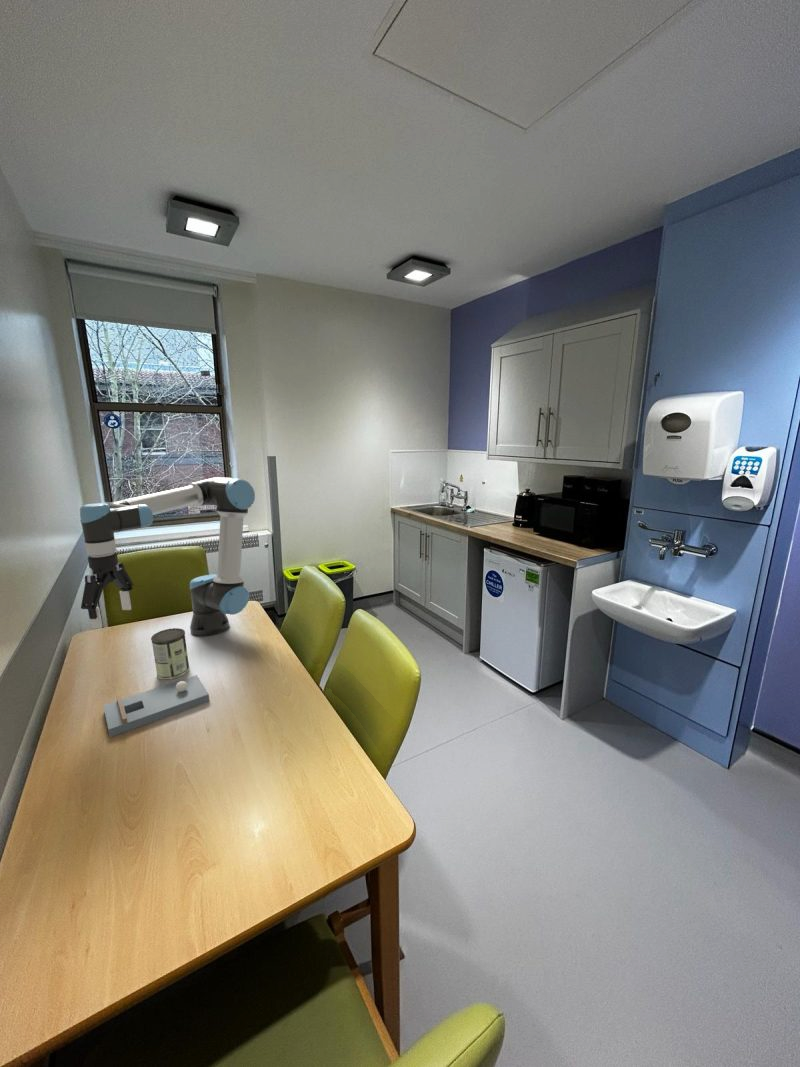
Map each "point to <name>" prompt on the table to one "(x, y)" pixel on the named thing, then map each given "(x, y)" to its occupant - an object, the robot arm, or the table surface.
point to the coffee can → (170, 653)
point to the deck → (153, 705)
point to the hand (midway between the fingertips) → (113, 618)
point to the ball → (181, 686)
